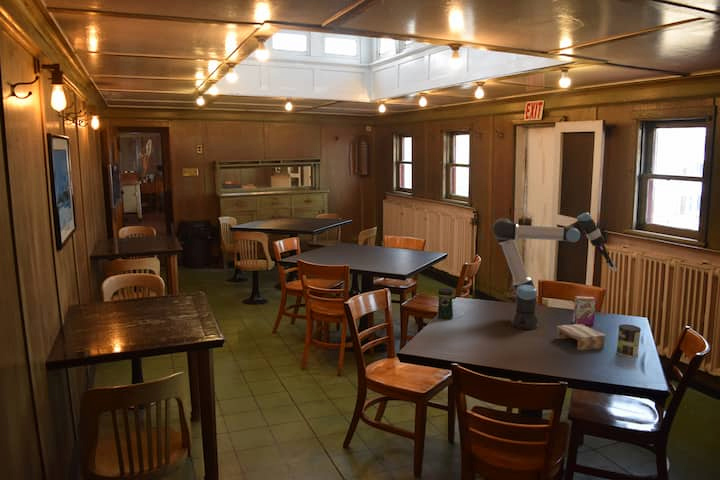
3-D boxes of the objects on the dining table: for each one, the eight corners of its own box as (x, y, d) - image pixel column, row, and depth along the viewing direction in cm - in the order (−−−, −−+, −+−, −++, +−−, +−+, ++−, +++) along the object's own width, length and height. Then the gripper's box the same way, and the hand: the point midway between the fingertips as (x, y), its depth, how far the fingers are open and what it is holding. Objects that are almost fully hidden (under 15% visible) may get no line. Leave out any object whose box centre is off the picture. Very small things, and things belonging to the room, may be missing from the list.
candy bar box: (574, 324, 347) (576, 298, 344) (572, 322, 352) (574, 295, 349) (594, 325, 346) (596, 298, 343) (591, 323, 351) (593, 296, 348)
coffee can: (623, 357, 294) (625, 330, 292) (612, 350, 304) (615, 324, 302) (642, 357, 295) (645, 330, 293) (631, 349, 305) (633, 324, 303)
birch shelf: (578, 350, 303) (579, 337, 302) (555, 337, 322) (556, 325, 321) (604, 347, 307) (605, 335, 306) (580, 335, 326) (581, 323, 325)
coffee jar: (453, 316, 359) (454, 287, 356) (452, 320, 351) (453, 290, 348) (438, 315, 361) (439, 286, 358) (436, 318, 354) (437, 289, 351)
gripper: (603, 238, 325) (622, 270, 325) (599, 230, 348) (617, 260, 349) (591, 244, 328) (610, 276, 328) (587, 236, 351) (605, 266, 351)
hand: (613, 268), depth 338 cm, fingers open, 13 cm apart
